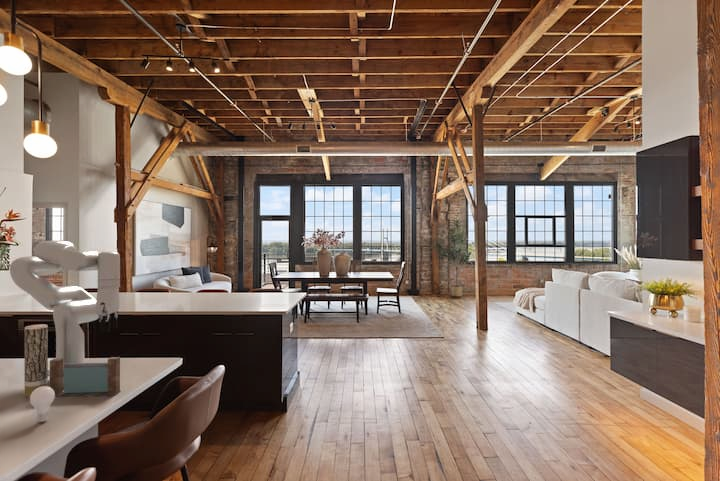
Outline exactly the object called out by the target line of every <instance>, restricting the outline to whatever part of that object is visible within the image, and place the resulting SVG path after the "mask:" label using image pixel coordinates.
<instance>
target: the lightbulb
mask: <svg viewBox="0 0 720 481" xmlns="http://www.w3.org/2000/svg"><path fill="white" fill-rule="evenodd" d="M55 398H56V397H55V392H54V390H53V389H52V388H51V387H50V386H41V387H38V388H36V389H35V390H34V391H33V392H32V393H31V395H30V398H29V403H30V404H31V406H32V407H34V409H35V413H36V415H37V422H38V423H41V424H42V423H45V422H47V421H48V420H49V418H48V417H49V415H48V414H49V413H48V412H49V410H50V407H51V405H52V404H53V402H54V400H55Z"/></svg>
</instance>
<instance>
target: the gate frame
mask: <svg viewBox="0 0 720 481" xmlns="http://www.w3.org/2000/svg"><path fill="white" fill-rule="evenodd" d="M107 363H108V392H81V393H64V391H63V358H56V357H54V358H53V359H50V360H49V370H50V376H49V387H51V388H52V389H53V390H54V392H55V398H66V397H67V398H69V397H71V398H72V397H73V398H74V397H77V398H78V397H100V396H101V397H102V396H105V397H107V396H116V395H118V394H119V393H121V392H122V391H121V356H111V357H109V358H107Z"/></svg>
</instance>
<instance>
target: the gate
mask: <svg viewBox="0 0 720 481" xmlns="http://www.w3.org/2000/svg"><path fill="white" fill-rule="evenodd" d="M63 377H64V383H63V392H64V393H81V392H108V362H84V363H67V364H65V365H64V370H63Z"/></svg>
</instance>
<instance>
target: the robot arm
mask: <svg viewBox="0 0 720 481" xmlns="http://www.w3.org/2000/svg"><path fill="white" fill-rule="evenodd" d="M33 253H34V255H33V256H21V257H19V258H16V259H14V260H13V261H12V262H11V263H10V265H9V274H10V277H11V279H12V281H13V282H14V284H15V286H17V287H18V288H19V289H21V290H22V291H24V292H25V293H26V294H28V295H29V296H31V297H32V299H34V300H35V301H36V302H38V303H39V304H40V305H41V306H42V307H44V308H45V309H46V310H49V311H52V312H53V313H52V317H53V323H54V326H55V327H54V328H55V336H56V337H55V343H56V344H55V350H56V352H55V358H63V370H64V365H65V364H67V363H85V333H84V331H83V329H82V327H81V326H80V325H81V324H83V323H84V324H85V323H90V322H93V321H96V320H99V332H100V333H109V332H110V330H116V329H118V315H119V314H118V313H119V310H120V302H121V301H120V289H119V288H120V287H121V254H120V253H119V252H117V251H103V250H88V251H83V250H82V251H80V250H78V249H77V248H76V246H75V245H74V244H73V243H72V242H71V241H68V240H44V241H43V240H42V241H40V242H38V243H37V244H36V245H35V246H34V249H33ZM62 269H65V270H69V271H74V272H86V271H87V272H88V271H97V292H96V298H95V297H93V295H91V294H90V293H89V292H88V291H87V290H85V289H83V288H82V287H80V286H78V285H64V286H63V285H62V286H59V285H56V284H54V283H53V282H52V281H51V280H50V279H47V278H45V277H43V276H52V275H55V274H57V273H59V272H60V271H61V270H62ZM48 377H50V369H48ZM63 383H64V377H63Z"/></svg>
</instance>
